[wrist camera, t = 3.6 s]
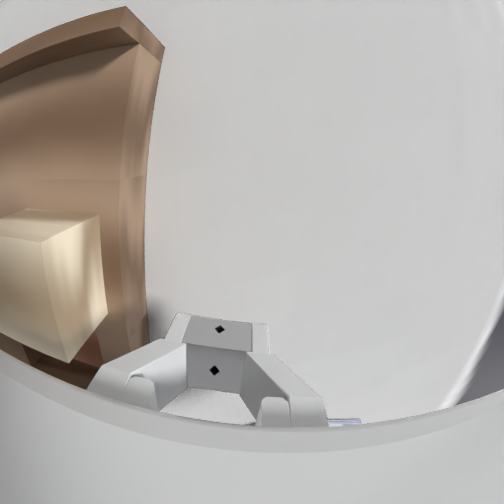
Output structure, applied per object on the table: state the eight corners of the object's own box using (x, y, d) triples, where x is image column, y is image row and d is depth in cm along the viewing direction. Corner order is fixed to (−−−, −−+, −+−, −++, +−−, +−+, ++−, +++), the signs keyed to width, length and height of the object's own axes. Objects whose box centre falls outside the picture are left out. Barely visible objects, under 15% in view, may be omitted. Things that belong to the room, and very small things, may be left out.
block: (27, 208, 10) (-28, 230, 6) (99, 214, 10) (40, 242, 7) (39, 294, 12) (-3, 330, 8) (108, 313, 12) (69, 363, 8)
